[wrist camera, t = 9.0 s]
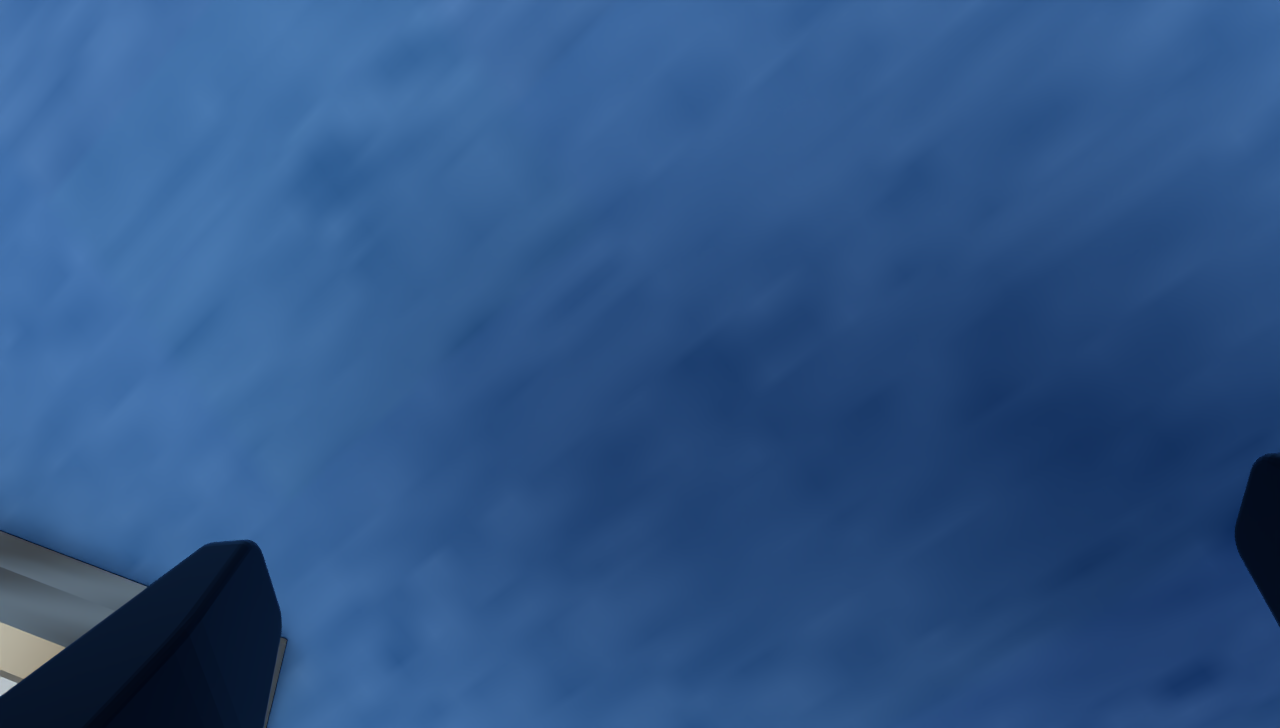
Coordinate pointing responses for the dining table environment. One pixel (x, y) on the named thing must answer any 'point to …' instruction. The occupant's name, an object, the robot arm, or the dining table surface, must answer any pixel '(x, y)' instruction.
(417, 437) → the dining table surface
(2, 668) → the fader track
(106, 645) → the robot arm
